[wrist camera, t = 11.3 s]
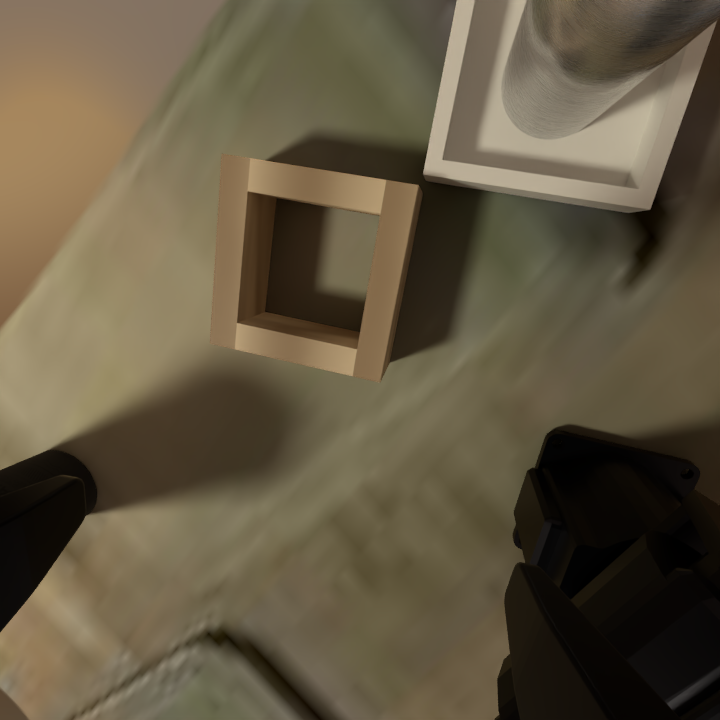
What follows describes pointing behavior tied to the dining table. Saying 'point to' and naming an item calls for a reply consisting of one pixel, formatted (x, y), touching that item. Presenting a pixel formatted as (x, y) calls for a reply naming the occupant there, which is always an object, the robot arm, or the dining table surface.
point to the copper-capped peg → (590, 56)
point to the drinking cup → (47, 474)
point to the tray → (555, 156)
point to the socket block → (253, 253)
